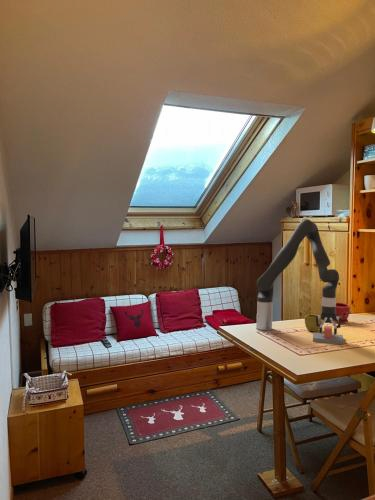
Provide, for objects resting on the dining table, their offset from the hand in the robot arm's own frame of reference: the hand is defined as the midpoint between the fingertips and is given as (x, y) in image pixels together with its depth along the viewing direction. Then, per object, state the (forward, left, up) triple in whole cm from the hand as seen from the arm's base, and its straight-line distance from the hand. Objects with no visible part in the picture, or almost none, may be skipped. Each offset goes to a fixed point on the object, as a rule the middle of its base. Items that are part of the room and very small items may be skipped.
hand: (328, 334), depth 224 cm
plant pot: (+8, +46, -4) cm, 47 cm away
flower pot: (-8, +19, -4) cm, 21 cm away
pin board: (0, 0, -3) cm, 3 cm away
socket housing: (0, 0, -1) cm, 1 cm away
